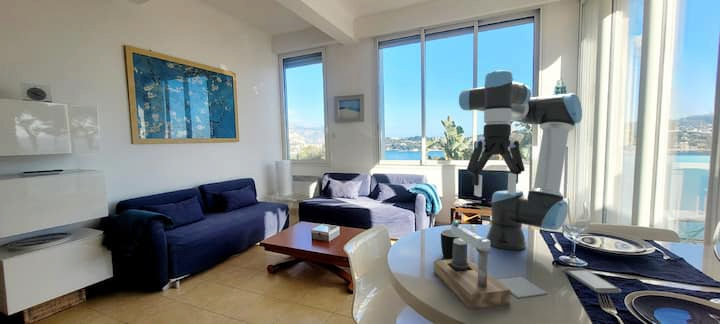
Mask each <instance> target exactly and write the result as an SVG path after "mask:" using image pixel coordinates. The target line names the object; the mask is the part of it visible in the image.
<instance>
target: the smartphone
mask: <svg viewBox="0 0 720 324" xmlns="http://www.w3.org/2000/svg"><path fill="white" fill-rule="evenodd" d="M562 271H563V272H564V273H566V274H567V275H569V276H570V277H572V278H573V279H575V280H576V281H578V282H580V283H581V284H582V285H585V286H586V287H587V288H589V289H590V290H592V291H593V292H595V293H596V294H621V293H622V289H621V288H619V287H617V286H615V285H614V284H612V283H611V282H608V281H607V280H606V279H603V278H601V277H600V276H598V275H597V274H595V273H593V272H591V271H590V270H587V269H585V268H584V267H564V268H563V270H562Z"/></svg>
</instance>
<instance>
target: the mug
mask: <svg viewBox="0 0 720 324" xmlns="http://www.w3.org/2000/svg"><path fill="white" fill-rule="evenodd" d="M456 238H458V237H457V236H455V235H454V234H452V233H451V228H449V229H444V230H443V229H442V230H441V231H440V243H441V244H440V245H441V252H442V257H443V260H447V259H453V241H454V239H456Z"/></svg>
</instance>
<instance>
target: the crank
mask: <svg viewBox="0 0 720 324" xmlns="http://www.w3.org/2000/svg"><path fill="white" fill-rule="evenodd" d="M450 225H451V226H450V229H451V233H452V234H454V235H455V236H457V237H458V238H460V239H462V240H463V241H465V242H466V243H467V245H470V246H471V247H472V248H475V249H476V252H478V253H479V252H480V253H488V254H490V253H491V245H490V243H491V241H490V240H488V239H487V238H485V237H482V236H480V235H478V234H477V233H474V232H473V231H470V230H468V228H466V227H463V226H462V225H460V221H459V220H452V224H450Z"/></svg>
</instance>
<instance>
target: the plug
mask: <svg viewBox="0 0 720 324" xmlns="http://www.w3.org/2000/svg"><path fill="white" fill-rule="evenodd" d="M467 259H468V243H466V242H465V241H463V240H462V239H460V238H456V239H454V241H453V260H452V261H451V266H452V269H453V270H455V271H456V272H458V271H467V269H468V267H469V264H468V262H467Z"/></svg>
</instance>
